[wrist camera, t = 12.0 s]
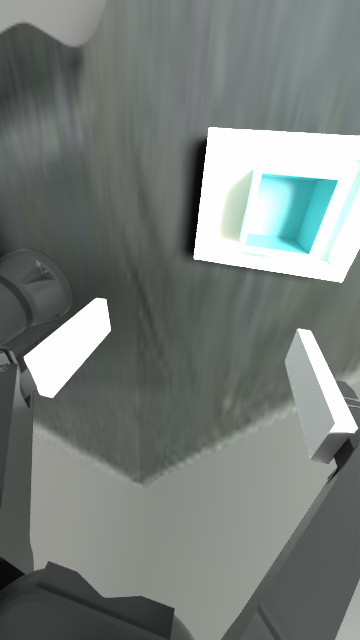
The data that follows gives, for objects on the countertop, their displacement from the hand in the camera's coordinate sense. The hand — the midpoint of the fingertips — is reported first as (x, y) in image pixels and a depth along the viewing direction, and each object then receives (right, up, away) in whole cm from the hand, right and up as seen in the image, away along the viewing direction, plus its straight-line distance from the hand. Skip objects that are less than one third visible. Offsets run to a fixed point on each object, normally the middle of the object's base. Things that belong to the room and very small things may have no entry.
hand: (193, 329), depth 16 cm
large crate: (+12, +15, +14) cm, 24 cm away
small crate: (+12, +15, +13) cm, 23 cm away
